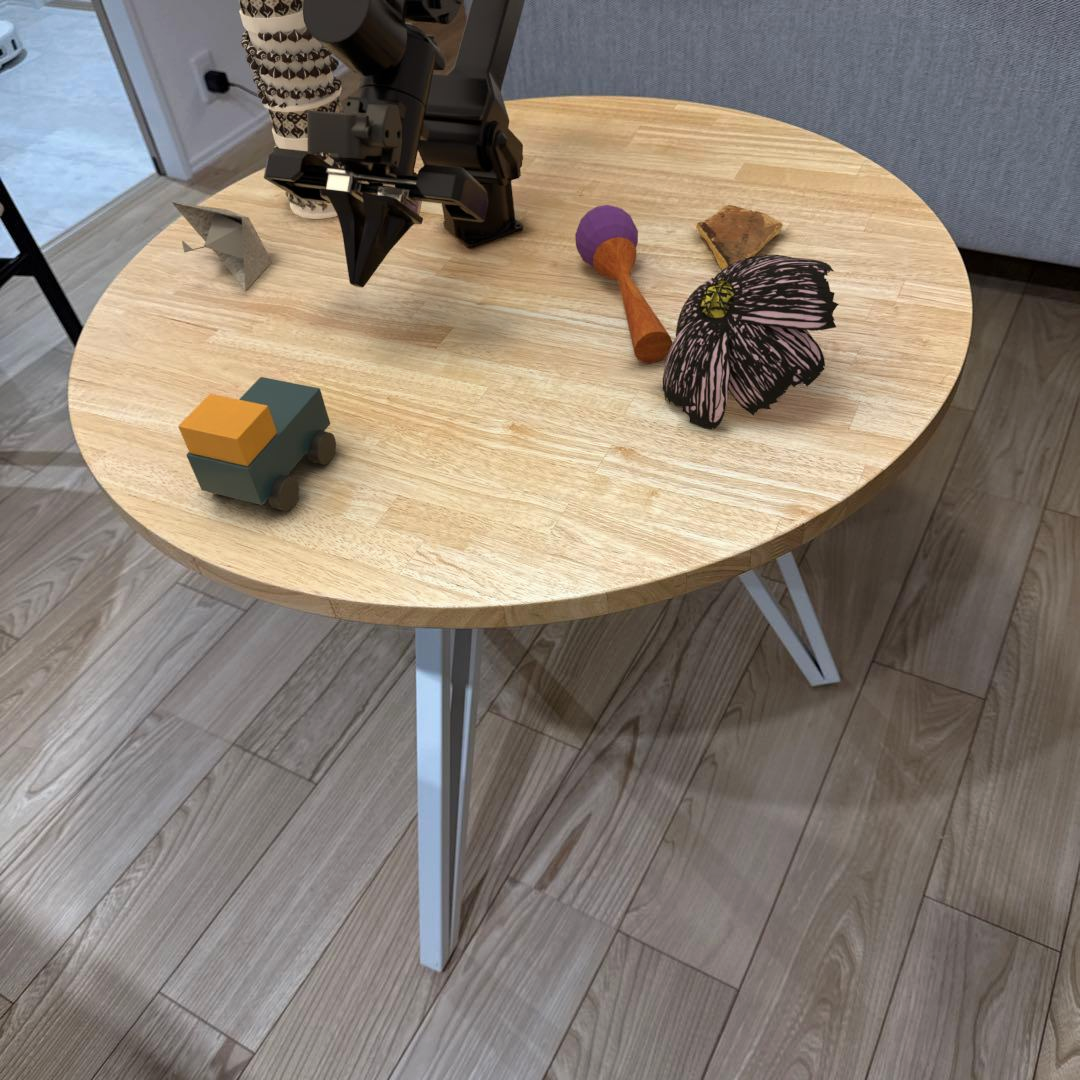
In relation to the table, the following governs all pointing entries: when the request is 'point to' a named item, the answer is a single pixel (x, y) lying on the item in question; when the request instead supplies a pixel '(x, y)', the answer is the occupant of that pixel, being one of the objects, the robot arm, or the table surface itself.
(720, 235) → the shard
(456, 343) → the table surface
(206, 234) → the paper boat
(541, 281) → the table surface
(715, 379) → the decorative flower
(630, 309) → the purple and orange maraca
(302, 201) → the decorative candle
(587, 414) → the table surface
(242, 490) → the toy truck
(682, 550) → the table surface
